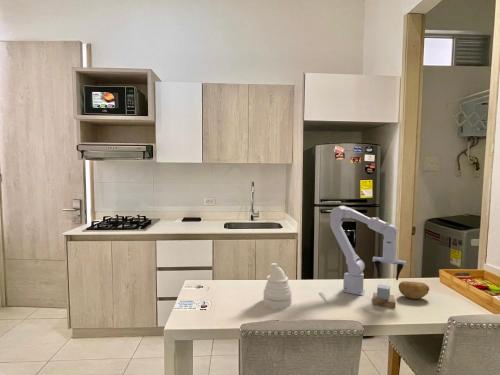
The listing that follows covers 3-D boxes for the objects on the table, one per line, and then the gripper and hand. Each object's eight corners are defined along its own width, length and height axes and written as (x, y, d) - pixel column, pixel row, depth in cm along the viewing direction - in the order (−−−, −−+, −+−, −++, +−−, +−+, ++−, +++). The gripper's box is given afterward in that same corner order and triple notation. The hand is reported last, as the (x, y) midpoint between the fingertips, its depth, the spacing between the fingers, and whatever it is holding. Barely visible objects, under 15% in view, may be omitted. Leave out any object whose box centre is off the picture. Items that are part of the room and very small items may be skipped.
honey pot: (259, 306, 147) (260, 266, 145) (268, 295, 159) (268, 259, 157) (287, 310, 142) (288, 270, 141) (294, 299, 154) (295, 262, 153)
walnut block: (373, 306, 149) (374, 299, 149) (373, 298, 158) (373, 292, 158) (395, 309, 147) (395, 302, 146) (393, 301, 155) (393, 295, 155)
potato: (433, 302, 153) (434, 286, 152) (402, 301, 154) (403, 285, 153) (423, 294, 163) (424, 278, 162) (394, 293, 163) (395, 277, 163)
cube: (376, 298, 151) (377, 287, 151) (378, 294, 155) (378, 284, 155) (388, 300, 149) (389, 289, 148) (389, 296, 153) (390, 286, 153)
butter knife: (324, 292, 163) (318, 291, 163) (340, 317, 136) (333, 317, 136) (324, 293, 163) (318, 292, 163) (340, 319, 136) (333, 318, 136)
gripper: (372, 250, 155) (371, 278, 156) (405, 254, 149) (404, 283, 149) (374, 246, 162) (373, 273, 162) (406, 250, 155) (405, 278, 156)
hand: (388, 278), depth 156 cm, fingers open, 7 cm apart
